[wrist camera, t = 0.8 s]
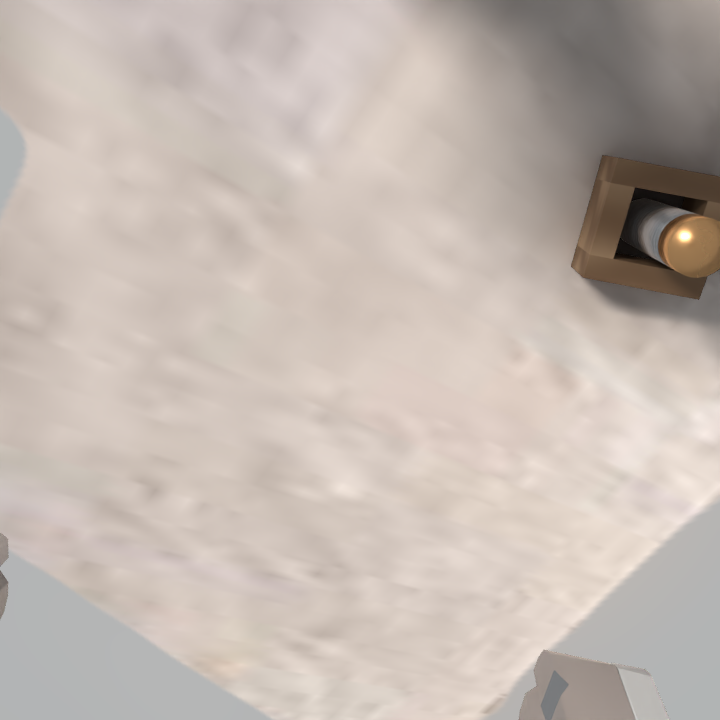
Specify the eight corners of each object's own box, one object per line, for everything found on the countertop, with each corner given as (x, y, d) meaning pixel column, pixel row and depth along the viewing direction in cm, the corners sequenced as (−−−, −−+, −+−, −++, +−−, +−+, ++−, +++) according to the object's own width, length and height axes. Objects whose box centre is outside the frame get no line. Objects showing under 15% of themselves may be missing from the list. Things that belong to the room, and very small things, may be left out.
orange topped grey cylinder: (624, 194, 49) (680, 212, 38) (672, 203, 49) (740, 224, 38) (610, 241, 50) (661, 271, 40) (657, 250, 50) (719, 282, 39)
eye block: (602, 155, 48) (618, 157, 44) (715, 176, 48) (741, 180, 44) (571, 266, 51) (583, 277, 47) (678, 286, 51) (699, 299, 47)
